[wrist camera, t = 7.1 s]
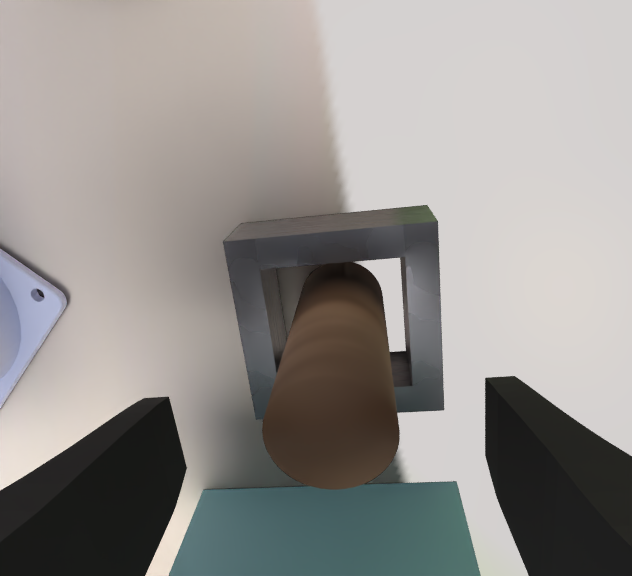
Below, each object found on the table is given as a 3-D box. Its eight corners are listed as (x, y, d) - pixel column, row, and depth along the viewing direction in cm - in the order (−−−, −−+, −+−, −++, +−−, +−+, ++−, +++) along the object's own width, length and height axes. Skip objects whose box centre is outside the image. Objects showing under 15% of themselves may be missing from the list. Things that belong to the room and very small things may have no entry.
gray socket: (268, 382, 20) (256, 419, 17) (241, 223, 18) (222, 241, 15) (433, 372, 19) (444, 410, 17) (427, 205, 17) (437, 221, 14)
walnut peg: (285, 304, 19) (235, 440, 11) (335, 244, 18) (318, 348, 10) (347, 350, 19) (340, 510, 12) (399, 294, 18) (428, 429, 11)
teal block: (207, 507, 22) (77, 851, 12) (184, 409, 21) (7, 715, 10) (457, 500, 21) (549, 879, 11) (454, 394, 19) (562, 728, 9)
